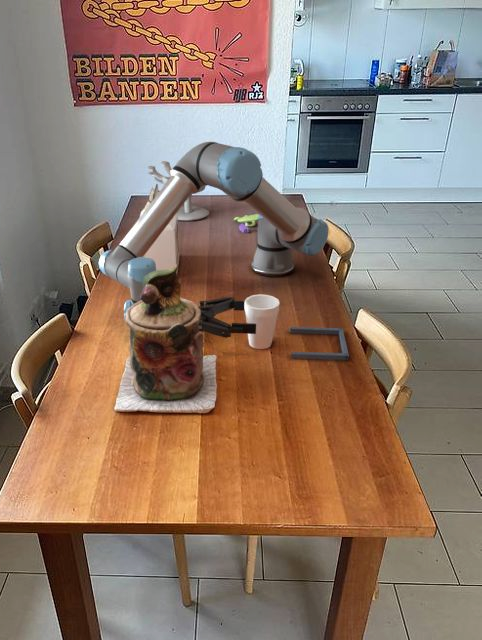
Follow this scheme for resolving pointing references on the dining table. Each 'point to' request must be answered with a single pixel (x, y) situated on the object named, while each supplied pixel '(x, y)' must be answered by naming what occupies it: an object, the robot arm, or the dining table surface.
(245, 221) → the toy airplane
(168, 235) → the gable box
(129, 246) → the robot arm
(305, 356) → the bay
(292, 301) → the dining table surface
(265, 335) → the foam cup
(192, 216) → the candelabra
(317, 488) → the dining table surface
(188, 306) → the cookie jar
